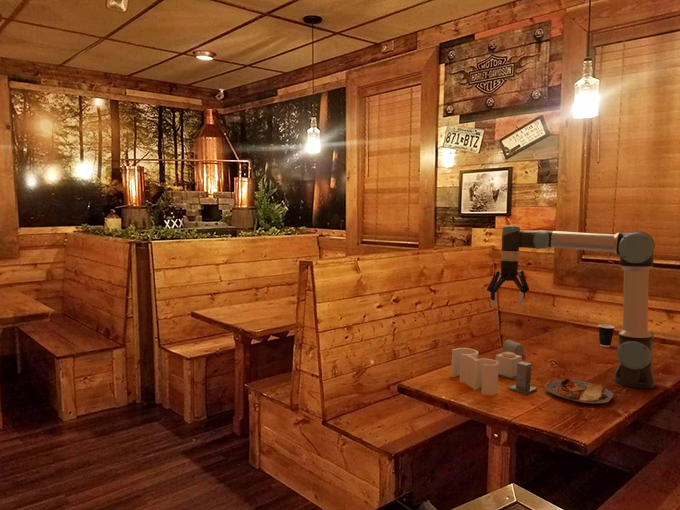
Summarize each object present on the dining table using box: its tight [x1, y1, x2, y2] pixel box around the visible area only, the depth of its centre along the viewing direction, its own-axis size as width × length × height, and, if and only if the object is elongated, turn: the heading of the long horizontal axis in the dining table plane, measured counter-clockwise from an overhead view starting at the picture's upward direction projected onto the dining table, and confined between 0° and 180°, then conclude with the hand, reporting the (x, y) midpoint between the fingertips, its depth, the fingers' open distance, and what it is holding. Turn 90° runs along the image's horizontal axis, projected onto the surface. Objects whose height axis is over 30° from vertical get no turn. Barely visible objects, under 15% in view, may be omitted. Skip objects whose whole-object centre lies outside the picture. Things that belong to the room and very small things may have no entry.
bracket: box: [450, 347, 499, 396], centre depth 215 cm, size 25×10×12 cm, turn 19°
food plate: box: [545, 378, 615, 405], centre depth 206 cm, size 25×23×4 cm
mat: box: [498, 374, 516, 381], centre depth 229 cm, size 10×10×1 cm
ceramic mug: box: [502, 339, 526, 357], centre depth 258 cm, size 11×8×8 cm
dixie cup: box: [597, 323, 616, 348], centre depth 280 cm, size 8×8×11 cm
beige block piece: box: [495, 351, 523, 378], centre depth 229 cm, size 8×8×9 cm
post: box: [508, 360, 538, 395], centre depth 210 cm, size 8×8×11 cm
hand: (507, 306), depth 236 cm, fingers open, 13 cm apart
